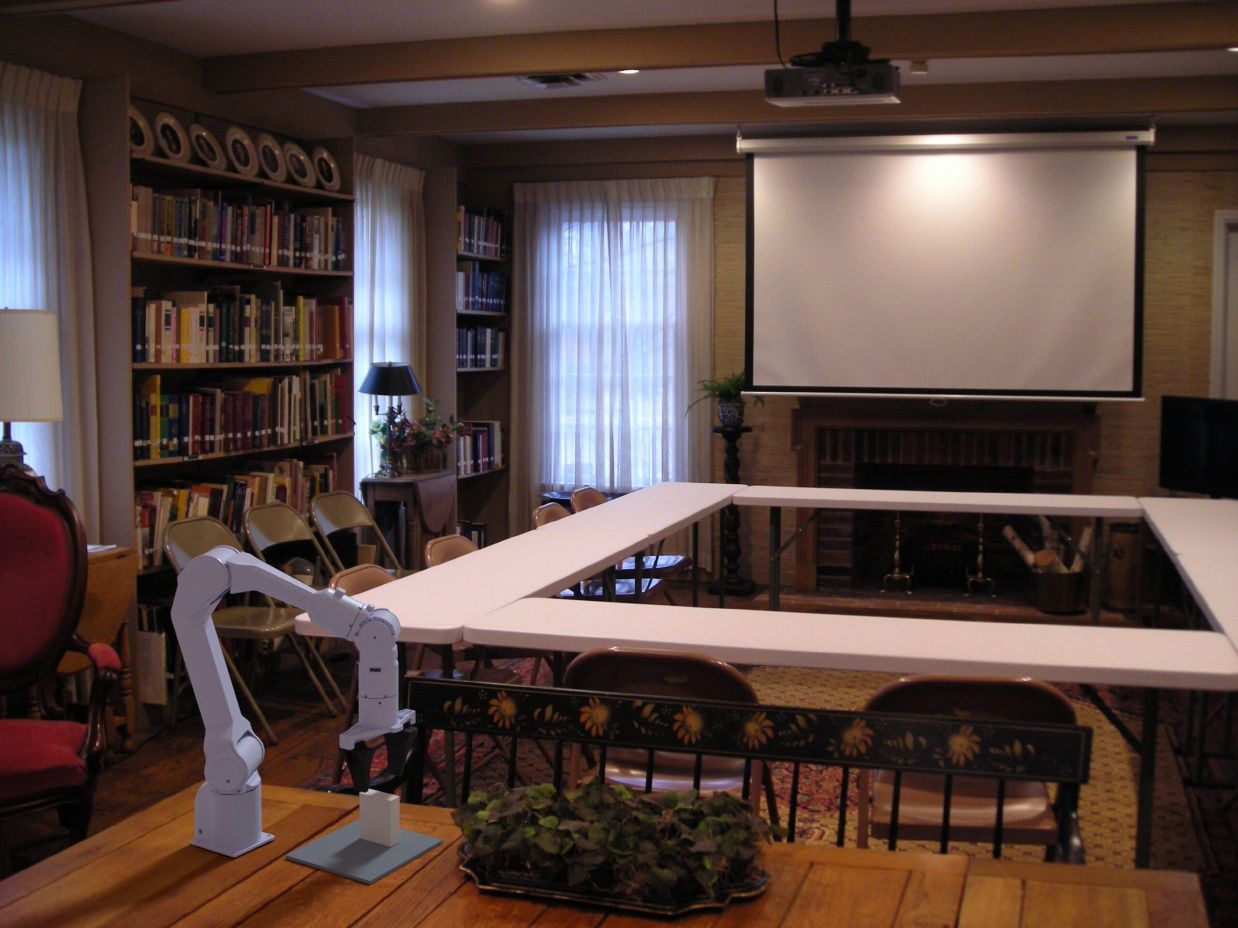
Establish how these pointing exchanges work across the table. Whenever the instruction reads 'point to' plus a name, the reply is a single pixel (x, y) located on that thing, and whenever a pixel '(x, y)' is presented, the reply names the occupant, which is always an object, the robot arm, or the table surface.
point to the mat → (362, 853)
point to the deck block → (380, 817)
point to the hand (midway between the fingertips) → (378, 782)
